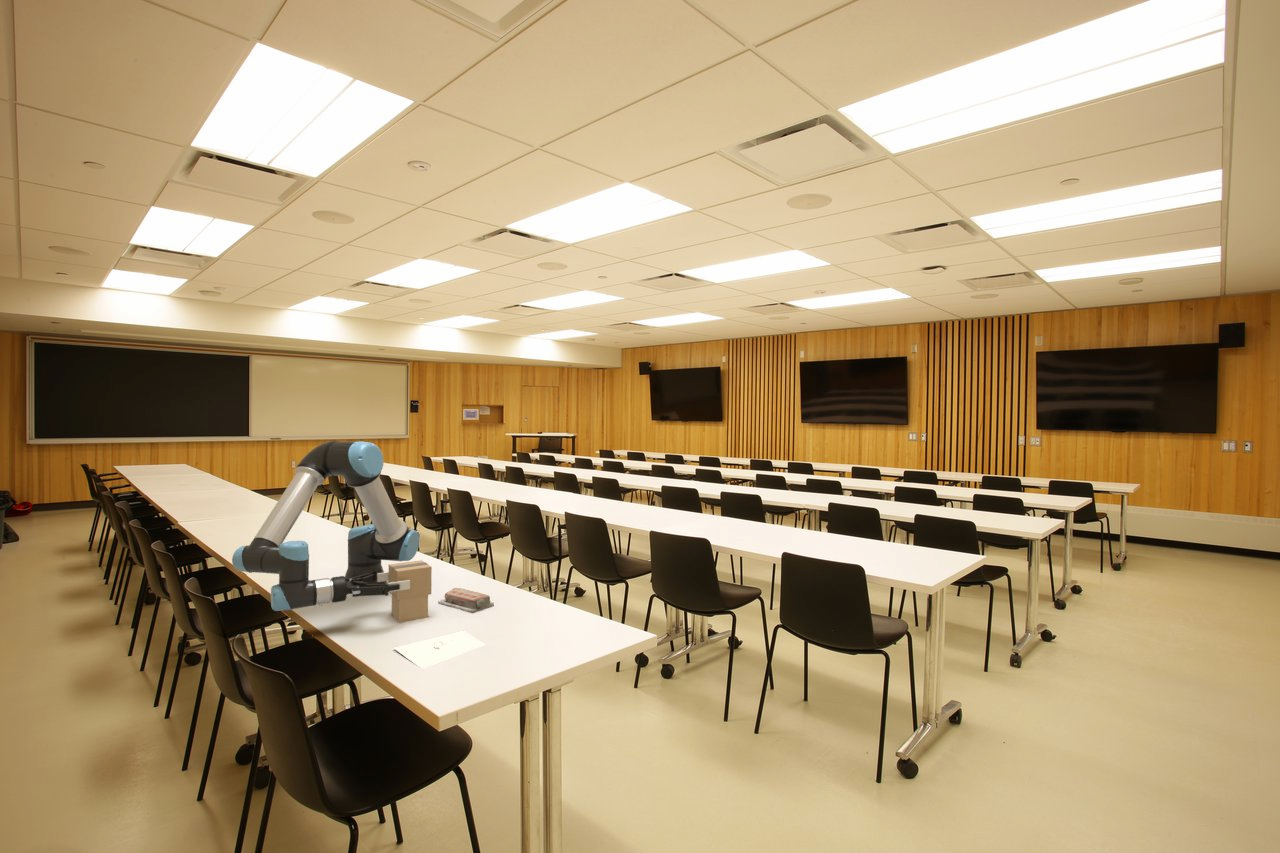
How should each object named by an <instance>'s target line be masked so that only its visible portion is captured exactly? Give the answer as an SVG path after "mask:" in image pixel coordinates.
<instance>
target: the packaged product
mask: <svg viewBox="0 0 1280 853" xmlns="http://www.w3.org/2000/svg"><path fill="white" fill-rule="evenodd" d="M437 603H438V604H439V605H441V606H447V607H450V608H453V609H456V610H459V609H460V610H459V611H464V612H467V611H468V612H467V613H470V612H471V614H473V613H477V612H480V611H483V610H487V609H490V608H491V607H495V606H494V605H495V603H494V602H492V601H491V596H490V595H489V594H488V595H487V594H485V593H481V592H477V591H474V590H469V589H465V588H461V587H454V588H452V589H450V590H449V591H447V592H446V593H445V594H444V599H441V600H440V601H439V600H438V601H437Z"/></svg>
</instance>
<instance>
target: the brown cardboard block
mask: <svg viewBox="0 0 1280 853" xmlns="http://www.w3.org/2000/svg"><path fill="white" fill-rule="evenodd" d="M432 570H433V569H432V565H430V564H429V563H427V562H425V561H423V560H422V559H421V560H420V559H419V560H413V561H404V562H398V563H391V564H390V563H389V564H388V572H389V581H388V583H391V582H398V581H405V580H410V589H406V590H400V591H394V592H388V594H390V595H391V597H392V596H394V597H395V598H396V599H397V600H400V599H406V598H412V597H418V596H424V595H428V596H431V595H432Z"/></svg>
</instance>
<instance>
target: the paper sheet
mask: <svg viewBox="0 0 1280 853" xmlns="http://www.w3.org/2000/svg"><path fill="white" fill-rule="evenodd" d="M483 646H486V643H484V642H482V641H480V640H479V639H478V638H476V637H474V636H473V635H471V634H469V633H468V632H467V631H465V630H461V631H458V632H457V631H456V632H453V633H450V634H445V635H441V636H437V637H433V638H429V639H424V640H419V641H417V642H416V641H415V642H412V643H409V644H404V645H400V646H396V647H393V649H394V650H395V651H396V652H398V653H399V654H401V655H403V657H405V658H406V659H408V660H409V661H410V662H412V663H413V664H414V665H415V666H417V667H418V668H420V669H421V670H423V669H426V668H428V667H431V666H433V665H436V664H439V663H441V662H444V661H447V660H450V659H452V658H455V657H457V656H461V655H462V654H465V653H467V652H470V651H472V650H475V649H478V648H480V647H481V648H482V647H483Z"/></svg>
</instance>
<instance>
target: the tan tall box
mask: <svg viewBox="0 0 1280 853" xmlns="http://www.w3.org/2000/svg"><path fill="white" fill-rule="evenodd" d="M391 616H392V617H393V618H394V619H395V620H396V621H397V622H398V623H405V622H409V621H414V620H419V619H424V618H428V617H429V595H424V596H418V597H412V598H406V599H400V600H397V599H396V598H395V597H394V596H392V595H391Z"/></svg>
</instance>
